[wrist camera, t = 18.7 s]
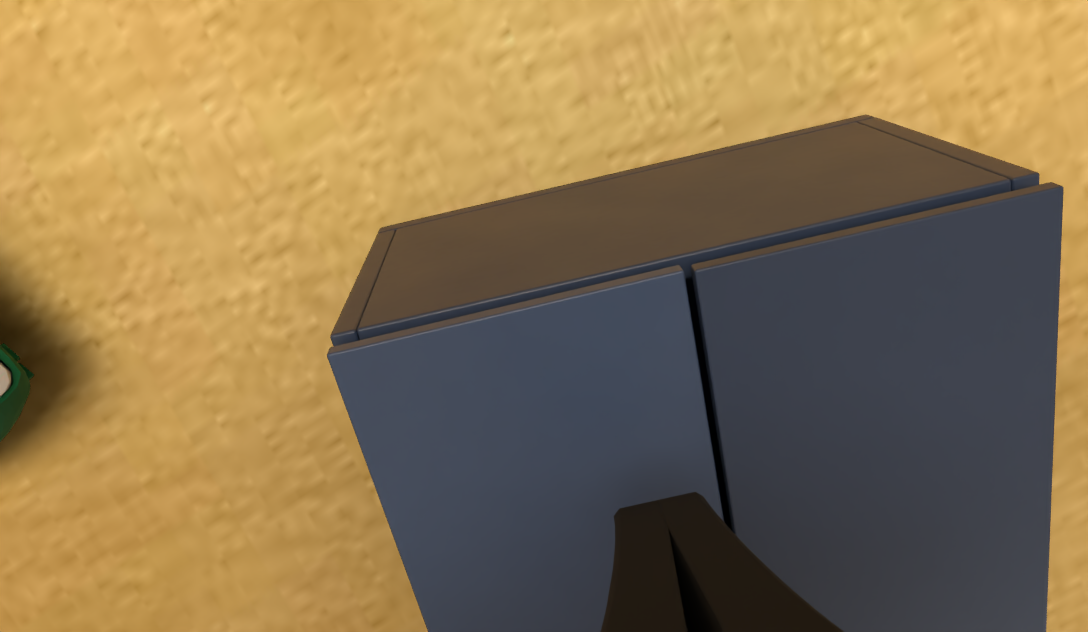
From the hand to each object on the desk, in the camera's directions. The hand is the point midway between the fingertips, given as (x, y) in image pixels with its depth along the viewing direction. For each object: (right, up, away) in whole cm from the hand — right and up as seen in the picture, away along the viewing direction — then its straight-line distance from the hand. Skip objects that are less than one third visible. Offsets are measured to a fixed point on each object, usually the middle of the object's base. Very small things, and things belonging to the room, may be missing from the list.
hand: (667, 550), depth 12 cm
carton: (+1, +2, +11) cm, 11 cm away
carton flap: (-1, -2, +4) cm, 5 cm away
